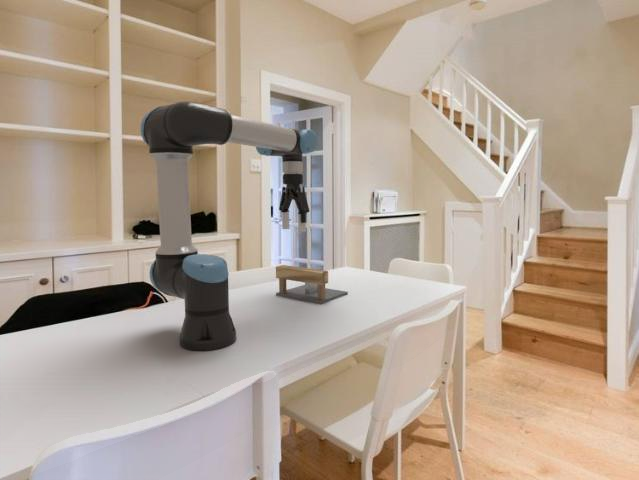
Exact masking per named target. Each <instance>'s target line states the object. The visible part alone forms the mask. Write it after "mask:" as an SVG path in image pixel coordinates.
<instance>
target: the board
mask: <svg viewBox="0 0 639 480" xmlns="http://www.w3.org/2000/svg"><path fill="white" fill-rule="evenodd" d="M278 284H279V285H278V286H279V287H278V289H279V290H278V292H276V293H275V296H277V297H280V298H281V297H282V298H286V299H293V300H298V301H303V302H307V303H313V304H319V305H322V304H325V303H328V302H330V301H333V300H336V299H339V298H341V297H344V296H347V295H348V294H349V291H345V290H339V289H333V288H327V287H326V284H323V285H318V292H315V293H312V294H305V284H303V285H299V286H296V287H292V288H289V289H287V280H286V279H279V278H278Z"/></svg>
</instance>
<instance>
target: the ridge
mask: <svg viewBox="0 0 639 480" xmlns="http://www.w3.org/2000/svg"><path fill="white" fill-rule="evenodd" d="M304 285H305V294H312V293H315V292H318V285H317V284H311V283H305V282H304Z"/></svg>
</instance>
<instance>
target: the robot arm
mask: <svg viewBox="0 0 639 480" xmlns="http://www.w3.org/2000/svg"><path fill="white" fill-rule="evenodd" d="M140 135H141V138H142V140H143V142H144V143H146V146H148V151H149V156H150V157H151V158H153V160H154V161H155V166H156V167H155V169H156V183H157V184H156V185H157V189H156V190H157V205H158V220H159V235H160V236H159V237H160V239H159V240H160V241H159V242H160V246H159V247H158V248H157V249H156V251H155V259H154V260H153V262H152V264H151V265H150V268H149V279H150V280H149V281H150V282H151V284H152V286H153V287H154V288H155V289H156V290H157V291H159V292H160V293H163V295H166V296H169V297H175V298H179V299H183V300H184V319H183V322H182V326H181V330H180V333H179V346H180V347H181V348H183V349H185V350H189V351H211V350H212V351H213V350H217V349H222V348H225V347H228V346H230V345H232V344H233V343H235V342H236V341H237V331H236V330H237V329H236V328H235V325H234V321H233V319H232V317H231V314H230V305H229V303H230V302H229V301H230V300H229V299H230V297H229V269H228V263H227V261H226V260H225V259H224V258H223V257H221V256H218V255H215V254H205V253H202V254H201V253H199V254H198V252H199V251H198V248H197V247H195V246H194V245H193V240H192V221H191V219H192V218H191V203H190V202H191V201H190V181H189V160H191V159H192V157H193V156H194V152H193V151H194V150H193V148H194V147H195V146H202V145H219V146H224V145H225V144H227V143H230V144H235V145H244V146H249V147H254V148H255V149H256V151H257V153H258V154H259V155H261V156H265V157H281V160H282V163H281V165H282V166H281V168H282V169H281V172H282V173H283V175H282V184H283V185H286V186H282V187H281V197H280V201H279V207H278V211H280V212H281V223H282V225H281V227H282V228H281V229H282V230H289V229H290V210H289V209H290V207H291V204H292V201H294V202H295V205H296V208H297V209H298V212H297V216H298V217H297V219H298V222H297V223H298V225H297V226H298V227H297V228H298V233H306V232H307V214H308V213H309V212H310V208H309V204H308V200H307V197H306V196H307V195H306V191H305V187H306V186H303V183H304V175H303V174H302V173H304V172H303V171H304V169H303V168H304V165H303V154H304V155H305V154H306V155H307V154H310V153H313V152H315V150H316V149H317V147H318V137H317V135H316V133H315V132H314V131H313V130H312V129H295V128H290V127H285V126H281V125H278V124H272V123H270V122H269V123H268V122H263V121H259V120H255V119H251V118H246V117H243V116H238V115H233V114H231V112H230V111H229V110H227V109H224V108H220V107H216V106H212V105H208V104H204V103H200V102H193V101H179V102H176V103H171V104H168V105H167V104H166V105H161V106H157V107H156V108H154V109H151V110H149V111H148V112H147V113H146V114H144V116H143V118H142V121H141V123H140ZM301 185H302V186H301Z"/></svg>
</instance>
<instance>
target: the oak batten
mask: <svg viewBox="0 0 639 480" xmlns="http://www.w3.org/2000/svg"><path fill="white" fill-rule="evenodd" d="M275 279H278V280H279V279H286V281H292V282H299V283H300V282H301V283H304V284H305V283H311V284H317V285H323V284H325V285H326V284H329V270H324V269H317V268H310V267H300V266H295V265H287V264H282V265H277V266H275Z"/></svg>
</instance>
